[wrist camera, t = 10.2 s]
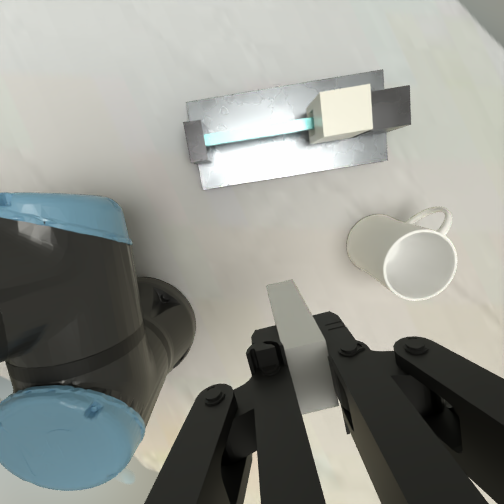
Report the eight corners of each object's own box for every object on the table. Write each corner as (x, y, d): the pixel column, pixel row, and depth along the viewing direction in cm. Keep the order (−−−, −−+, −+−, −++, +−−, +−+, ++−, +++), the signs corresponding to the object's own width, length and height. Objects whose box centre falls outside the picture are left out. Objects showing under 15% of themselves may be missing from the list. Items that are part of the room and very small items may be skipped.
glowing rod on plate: (203, 189, 43) (195, 191, 35) (188, 104, 40) (175, 88, 33) (383, 160, 42) (412, 156, 35) (379, 72, 40) (408, 49, 32)
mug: (398, 185, 43) (454, 187, 31) (434, 228, 44) (501, 246, 33) (334, 243, 45) (365, 265, 33) (371, 282, 46) (413, 317, 35)
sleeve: (309, 144, 38) (323, 136, 31) (306, 108, 37) (319, 92, 30) (349, 138, 38) (373, 128, 31) (347, 101, 37) (370, 83, 30)
